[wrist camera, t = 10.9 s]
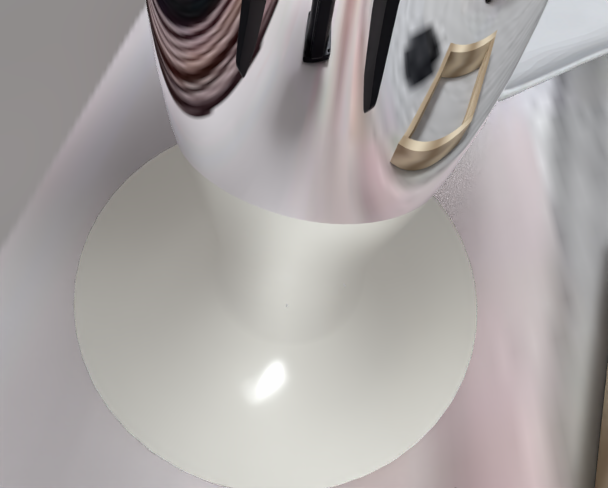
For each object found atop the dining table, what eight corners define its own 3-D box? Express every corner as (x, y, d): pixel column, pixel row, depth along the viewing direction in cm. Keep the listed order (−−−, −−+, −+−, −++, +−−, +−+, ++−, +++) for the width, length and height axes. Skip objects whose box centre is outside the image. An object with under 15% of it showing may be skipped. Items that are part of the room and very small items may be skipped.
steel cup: (165, 259, 19) (-7, -291, 6) (300, 178, 22) (382, -323, 9) (273, 400, 17) (368, 13, 4) (408, 290, 19) (735, -157, 6)
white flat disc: (405, 586, 15) (410, 588, 15) (-18, 367, 17) (-26, 362, 16) (505, 209, 23) (511, 202, 22) (208, 88, 25) (208, 79, 24)
